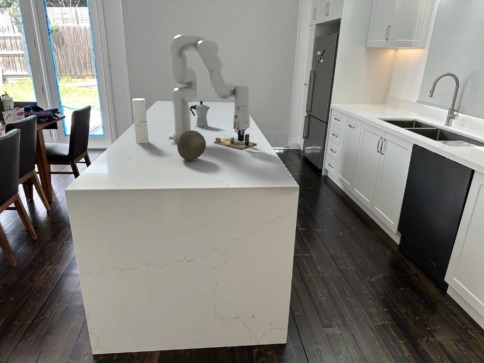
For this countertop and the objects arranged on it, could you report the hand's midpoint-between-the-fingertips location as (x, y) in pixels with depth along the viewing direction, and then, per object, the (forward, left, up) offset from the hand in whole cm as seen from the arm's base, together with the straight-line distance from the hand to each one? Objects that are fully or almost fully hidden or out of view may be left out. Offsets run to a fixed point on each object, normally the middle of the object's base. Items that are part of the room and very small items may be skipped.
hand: (240, 141), depth 192 cm
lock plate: (+5, +9, -4) cm, 11 cm away
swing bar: (+4, +4, -3) cm, 7 cm away
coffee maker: (+24, +59, -5) cm, 64 cm away
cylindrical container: (-30, +51, -5) cm, 60 cm away
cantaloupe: (-33, +4, -5) cm, 34 cm away
